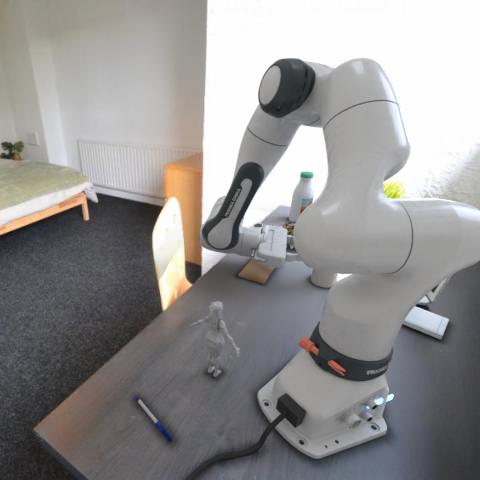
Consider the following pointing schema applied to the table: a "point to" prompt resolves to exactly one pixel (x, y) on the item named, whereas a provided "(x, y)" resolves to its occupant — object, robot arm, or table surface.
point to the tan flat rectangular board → (256, 272)
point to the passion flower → (290, 231)
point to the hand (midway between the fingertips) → (303, 249)
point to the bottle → (323, 278)
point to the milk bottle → (302, 196)
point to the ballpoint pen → (155, 420)
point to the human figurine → (216, 335)
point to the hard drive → (426, 322)
